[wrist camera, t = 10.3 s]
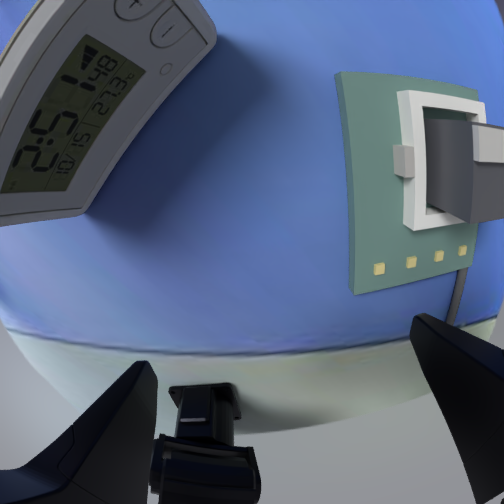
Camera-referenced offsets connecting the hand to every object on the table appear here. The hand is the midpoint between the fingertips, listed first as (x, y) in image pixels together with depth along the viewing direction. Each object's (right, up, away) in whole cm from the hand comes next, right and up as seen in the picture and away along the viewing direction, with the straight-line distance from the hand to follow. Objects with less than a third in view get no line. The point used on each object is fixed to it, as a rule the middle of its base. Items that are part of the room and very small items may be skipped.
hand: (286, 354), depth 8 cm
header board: (+12, +9, +10) cm, 18 cm away
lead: (+20, 0, +14) cm, 24 cm away
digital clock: (-10, +13, +7) cm, 18 cm away
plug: (+13, +10, +8) cm, 18 cm away
